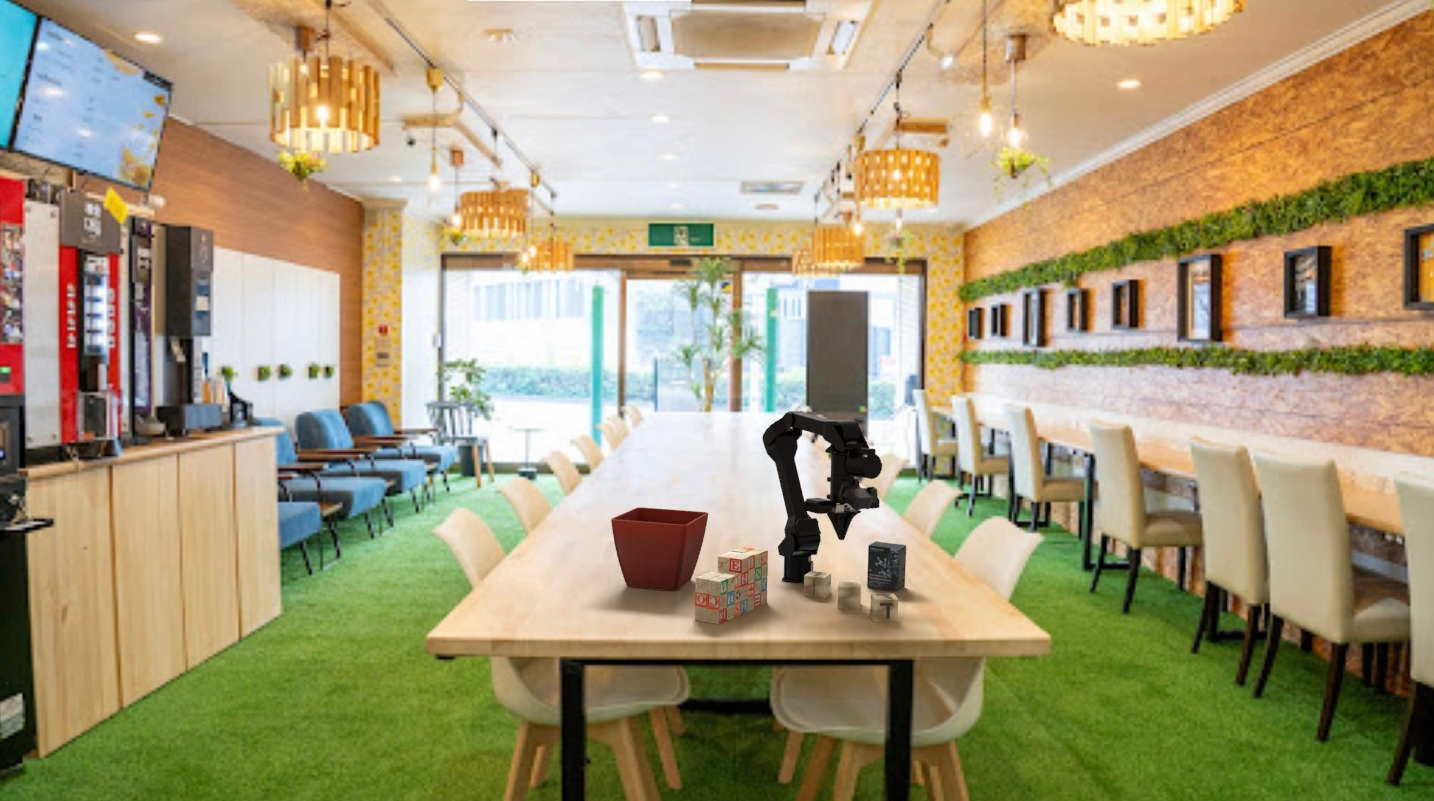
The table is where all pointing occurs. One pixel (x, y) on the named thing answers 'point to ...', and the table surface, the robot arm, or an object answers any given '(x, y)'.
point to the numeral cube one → (817, 584)
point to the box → (886, 566)
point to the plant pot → (658, 546)
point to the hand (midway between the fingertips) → (841, 539)
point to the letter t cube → (884, 607)
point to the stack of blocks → (732, 586)
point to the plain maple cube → (849, 595)
